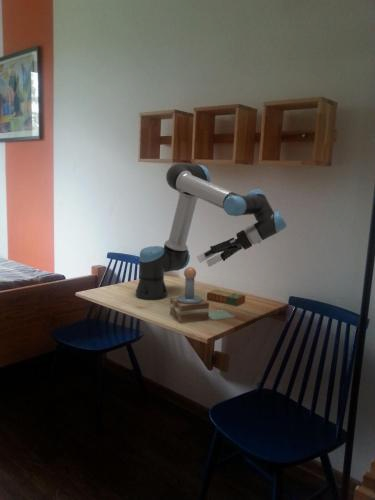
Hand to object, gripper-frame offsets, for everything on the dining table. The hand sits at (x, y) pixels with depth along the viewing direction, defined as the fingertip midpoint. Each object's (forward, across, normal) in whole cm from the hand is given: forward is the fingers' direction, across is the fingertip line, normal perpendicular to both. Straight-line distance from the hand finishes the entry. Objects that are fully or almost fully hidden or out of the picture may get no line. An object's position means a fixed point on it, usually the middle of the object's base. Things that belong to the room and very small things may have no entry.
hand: (202, 261), depth 174 cm
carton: (+4, +29, -15) cm, 33 cm away
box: (+16, +2, -17) cm, 24 cm away
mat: (+6, +9, -21) cm, 24 cm away
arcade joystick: (+12, 0, -12) cm, 17 cm away
